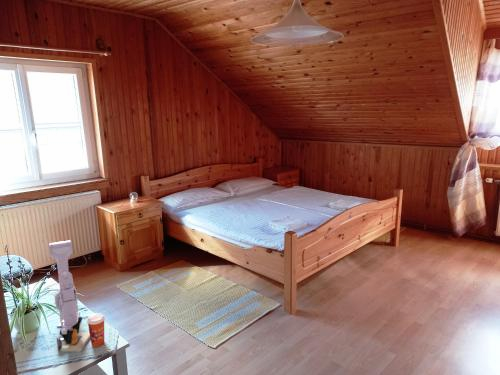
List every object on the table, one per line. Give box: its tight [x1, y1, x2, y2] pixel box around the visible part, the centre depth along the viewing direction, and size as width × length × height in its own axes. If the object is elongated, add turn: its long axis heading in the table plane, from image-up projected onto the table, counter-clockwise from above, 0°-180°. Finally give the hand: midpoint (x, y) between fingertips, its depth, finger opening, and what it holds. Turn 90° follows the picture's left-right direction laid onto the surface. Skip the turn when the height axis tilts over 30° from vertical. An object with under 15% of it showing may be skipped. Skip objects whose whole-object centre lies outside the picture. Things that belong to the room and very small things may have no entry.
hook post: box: [56, 337, 65, 351], centre depth 167 cm, size 2×3×5 cm, turn 91°
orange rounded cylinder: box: [67, 328, 79, 346], centre depth 170 cm, size 4×4×6 cm
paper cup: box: [86, 312, 106, 348], centre depth 170 cm, size 8×8×14 cm
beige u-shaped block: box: [60, 331, 90, 353], centre depth 172 cm, size 12×9×2 cm
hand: (72, 338), depth 171 cm, fingers open, 7 cm apart
